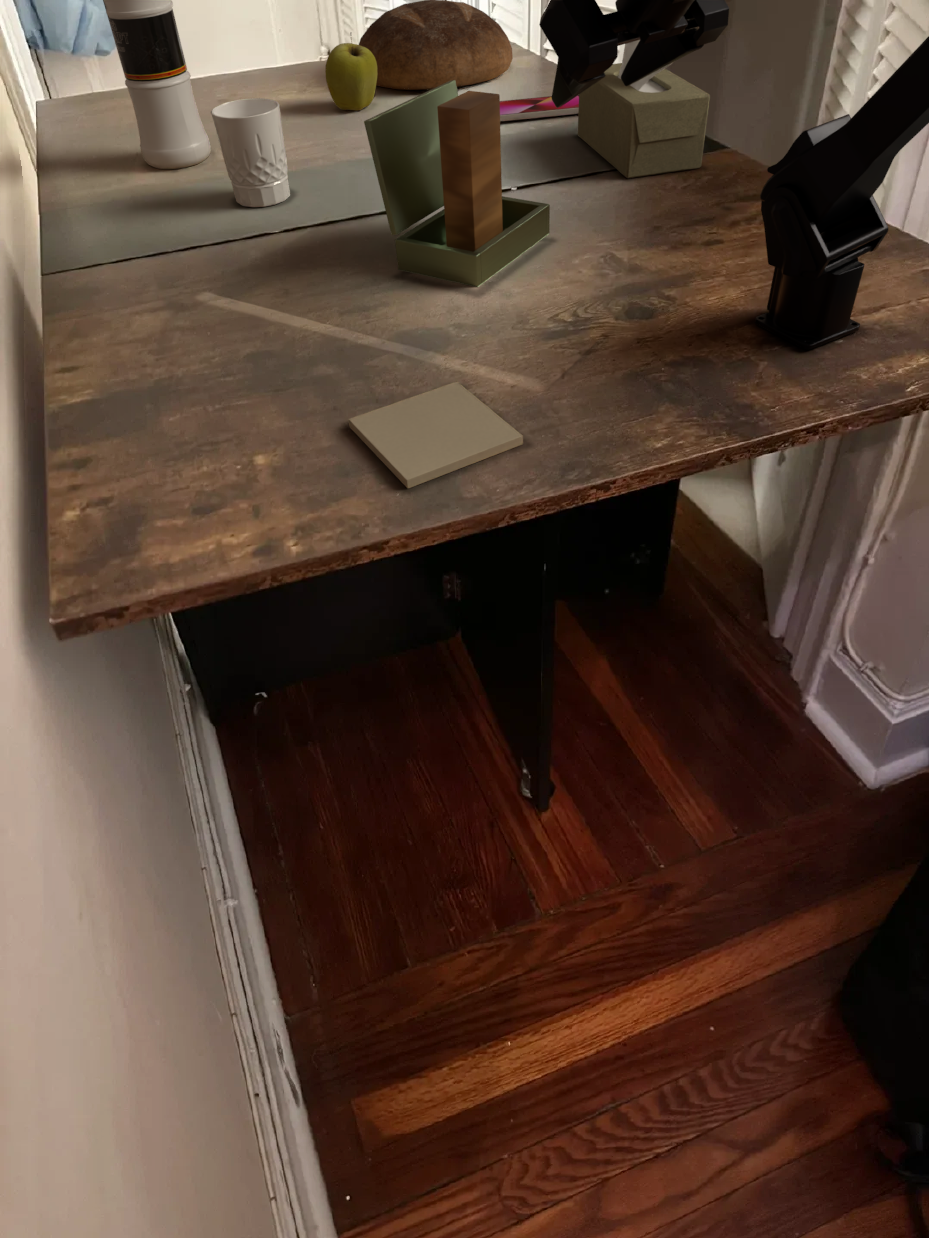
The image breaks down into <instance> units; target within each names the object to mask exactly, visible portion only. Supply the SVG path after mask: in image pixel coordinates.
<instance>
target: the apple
mask: <svg viewBox="0 0 929 1238" xmlns="http://www.w3.org/2000/svg"><path fill="white" fill-rule="evenodd" d="M350 35H352V32H350ZM352 39H353V38H350V42H343V43H339V44H337V45H336V46H334V47H333V48H332V49H331V51H330V52H329V53H328V56H327V59H326V63H325V70H324V71H325V81H326V84H327V88H328V92H329V94H330V95H329V96H330V97H331V99H332V101H333V103H334V104H335V106H336V107H337V108H338V109H340V110H342V111H346V110H347V111H348V110H349V111H361V110H363V109H364V108H367V107H369V106H370V105H371V104H372V102H373V101H374V97H375V93H376V88H377V85H376V82H377V63H376V59H375V57H374V55H373V54H372V52H371V51H370V50H369V49H367V48H365V47H363V46H360V45H359V44H357V43H353V40H352Z"/></svg>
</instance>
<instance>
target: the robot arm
mask: <svg viewBox="0 0 929 1238" xmlns="http://www.w3.org/2000/svg"><path fill="white" fill-rule="evenodd" d="M614 4H615V9H616V11H613V12H610V13H605V14H604V13H603V11H602V9H601V8H600V6H599V4H598V2H597V1H596V0H549V2H548V4H547V6H546V7H545V9H544V11H543V13H542V15H541V16H540V19H539V20H540V21H539V27H540V29H541V31H542V32H543V34H544V35H545V37H546V39H547V41H548V43H549V44H550V46H551V47H552V50H553V51H554V52H555V54H556V56H557V65H556V70H555V76H554V81H553V87H552V92H551V96H552V101H553V103H554V104H555V106H556V107H557V108H558V107H561V106H563V105H564V104H566V103H567V102H569V101H570V100H572V99H573V98H575V97H576V96H578V95H579V94H580V93H582V92H583V91H585V90H586V89H588V88H589V87H591V86H592V85H594V84H595V83H597V82H598V81H600V80H601V79H602V78H604V77H605V76H606V75H605V73H604V72H605V71H606V70H607V69H609V68H610V67H611V66H612V64H615V61H616V60H617V58H618V55H619V54H618V53H619V52H618V51H619V50H618V49H619V46H622V45H625V44H626V43H630V42H633V41H637V40H640V41H639V43H638V45H637V46H636V48H635V50H634V52H633V54H632V55H631V57H630V59H629V61H628V62H627V64H626V66H625V69H624V71H623V73H622V75H621V80H622V82H623V83H624V85H625V86H629V85H631V84H633V83H635V82H637V81H638V80H640V79H642V78H644V77H646V76H648V75H650V74H651V73H653V72H655V71H657V70H659V69H661V68H663V67H665V66H667V65H669V64H670V63H672V62H673V63H675V62H676V61H678V60H681V59H682V58H684V57H686V56H688V55H690V54H692V53H694V52H696V51H698V50H701V49H702V48H703V47H704V46H705V45H707V44H710V43H714V42H716V41H717V40H718V38H719V37H720V36H721V34H722V33H723V32H724V31H725V29H726V28H727V27H728V26H729V14H730V6H729V5H728V3H727V1H726V0H615V3H614ZM928 124H929V35H928V36H927V37H926V38H925V39H924V40H923V41H922V42H921V44H920V45H919V46H918V47H917V48H916V49H915V50H914V51H913V52H912V53H911V54H910V55H909V56H908V57H907V58H906V59H905V61H903V63H902V64H901V65H900V66H899V67H898V68H896V70H895V71H894V72H893V73H892V74H891V75H890V76H889V78H888V79H887V80H886V81H885V82H884V83H883V84H881V86H880V87H879V88H878V89H876V91H875V92H874V93H873V94H872V95H871V97H870V98H869V99H868V100H867V101H866V102H865V103H864V104H863V105H862V106H861V107H860V108H859V109H858V110H857V111H856V112H855V114H854V115H853V116H851V115H850V114H849V113H848V114H845V115H842V116H840V117H837V118H834V119H832V120H829V121H827V122H823V123H822V124H818V125H816V126H814V127H811V128H808V129H805V130H803V131H802V132H801V133H800V134H799V135H798V136H797V137H796V138H795V140H794V141H793V142H792V144H791V146H790V148H789V149H788V151H787V152H786V153H785V155H784V156H783V157H782V158H781V159H780V160H778V162H776V163H775V164H772V165H770V166H769V167H767V169H766V172H767V173H768V174H772V175H771V176H770V177H769V178H768V179H767V180H766V182H765V184H764V185H763V187H762V189H761V192H760V194H759V199H760V200H761V203H760V212H761V217H762V221H763V227H764V239H765V247H766V248H765V249H766V255H767V264H768V265H769V266H772V267H774V269H773V275H772V281H771V284H770V289H769V295H768V300H767V304H766V310H767V311H768V312H765V313H761V314H760V315H758V316H756V317H755V319H754V324H755V325H757V326H759V327H761V328H763V329H764V330H766V331H768V332H770V333H771V334H773V335H776V336H777V337H780V338H782V339H784V340H785V341H787V342H789V343H791V344H793V345H795V346H797V347H799V348H801V349H803V350H813V349H815V348H818V347H820V346H822V345H825V344H827V343H830V342H833V341H835V340H838V339H840V338H843V337H846V336H848V335H850V334H854V333H856V332H858V331H859V330H860V328H861V323H860V322H858V321H855V320H853V319H852V313H853V310H854V305H855V302H856V298H857V294H858V291H859V287H860V283H861V280H862V276H863V272H864V269H865V263H864V262H862V261H859V257H862V256H864V255H865V254H867V253H872V252H874V251H876V250H877V249H878V248H879V246H880V245H881V243H882V241H883V240H884V239H885V238H886V235H887V234H888V232H889V226H888V224H887V221H886V219H885V217H884V216H883V214H882V211H881V209H880V207H879V205H878V204H877V201H876V199H875V197H874V194H875V193H876V192H877V190H878V189H879V188H880V187H881V185H882V184H883V182H884V181H885V179H886V176H887V174H888V173H889V170H890V168H891V165H892V164H893V161H894V159H895V158H896V156H897V155H898V154H899V152H900V151H901V150H902V149H903V148H905V146H907V144H908V143H910V142H911V141H912V140H913V139H914V138H915V137H916V136H917V135H918V134H920V132H921V131H922V130H924V128H925V127H926V126H928Z"/></svg>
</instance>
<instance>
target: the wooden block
mask: <svg viewBox="0 0 929 1238" xmlns="http://www.w3.org/2000/svg"><path fill="white" fill-rule="evenodd" d="M500 97H501V95H500V93H492V92H486V91H485V92H483V91H475V90H467V91H465V92H463V93H461V94H458V96H457V97H455V98H453V99H451V100H449V101H447V102H445V103H443V104H441V105H439V106H437V110H438V125H439V139H440V154H441V169H442V183H443V198H444V206H443V209H444V213H445V228H446V242H447V247H452V248H457V249H462V250H467V251H472V252H474V251H475V250H477V249H478V248H480V247H481V246H483V245H484V244H485V243H487V242H488V241H490V240H491V239H493V238H494V237H495V236H497V235H498V234H500V233H501V232H503V222H502V196H503V185H502V184H503V183H502V182H503V181H502V180H503V179H502V143H501V142H502V141H501V140H502V138H501V137H502V136H501V121H500V101H501V100H500V99H501V98H500Z"/></svg>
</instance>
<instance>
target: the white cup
mask: <svg viewBox="0 0 929 1238" xmlns="http://www.w3.org/2000/svg"><path fill="white" fill-rule="evenodd" d="M210 114H211V118H212V122H213V126H214V129H215V133H216V137H217V141H218V143H219V147H220V151H221V155H222V158H223V162H224V165H225V169H226V172H227V176H228V178H229V180H230V181H231V182H230V183H231V187H232V190H233V194H234V198H235V201H236V203H237V204H239V205H240V206H242V207H248V208H265V207H270V206H275V205H278V204H281V203H283V202H285V201H286V200H288V199H289V198H290V197H291V190H290V189H291V188H290V183H289V174H288V171H289V167H288V157H287V151H286V143H285V137H284V136H285V135H284V129H283V128H284V127H283V122H282V114H281V106H280V103H279V102H278V101H277V100H274V99H272V98H265V97H253V98H252V97H250V98H249V97H248V98H241V99H236V100H235V99H234V100H229V101H226V102H223V103H220V104H218V105H216V106H214V107H213V108H212V109H211V111H210Z"/></svg>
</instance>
